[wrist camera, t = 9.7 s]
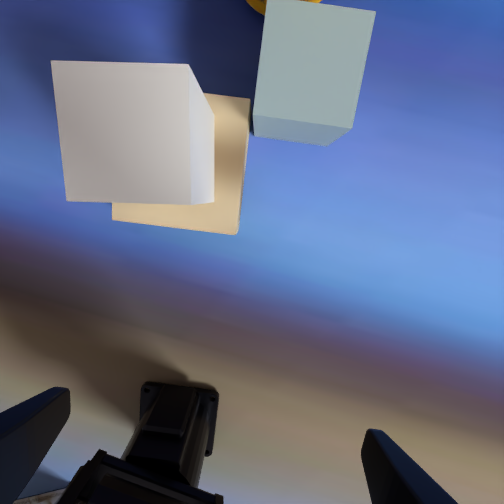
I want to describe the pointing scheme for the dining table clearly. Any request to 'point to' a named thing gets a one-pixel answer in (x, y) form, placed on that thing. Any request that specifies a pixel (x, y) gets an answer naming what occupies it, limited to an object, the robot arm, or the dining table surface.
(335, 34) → the teal grey cube
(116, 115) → the white block
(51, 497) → the coffee box
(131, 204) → the beech slab
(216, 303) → the dining table surface
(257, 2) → the beer can
